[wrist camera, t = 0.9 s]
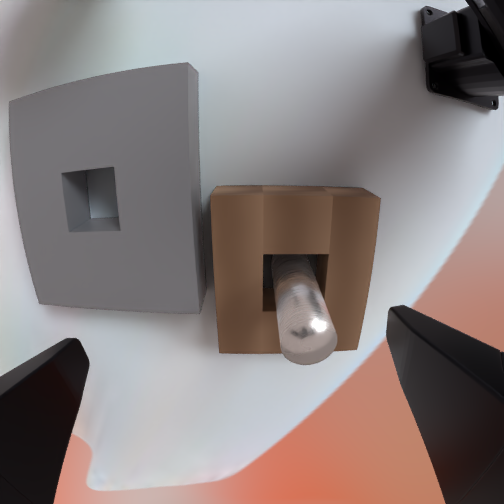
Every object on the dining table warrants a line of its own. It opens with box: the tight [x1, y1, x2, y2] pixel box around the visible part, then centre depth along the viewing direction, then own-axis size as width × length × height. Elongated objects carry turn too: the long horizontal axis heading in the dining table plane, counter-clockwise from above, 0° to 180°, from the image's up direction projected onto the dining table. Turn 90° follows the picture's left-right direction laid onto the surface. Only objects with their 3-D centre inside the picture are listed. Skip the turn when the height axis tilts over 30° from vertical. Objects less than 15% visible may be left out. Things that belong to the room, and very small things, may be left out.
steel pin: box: [271, 254, 337, 365], centre depth 17 cm, size 2×2×8 cm
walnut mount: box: [210, 185, 381, 354], centre depth 19 cm, size 9×10×3 cm
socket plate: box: [9, 62, 206, 314], centre depth 18 cm, size 12×14×3 cm
